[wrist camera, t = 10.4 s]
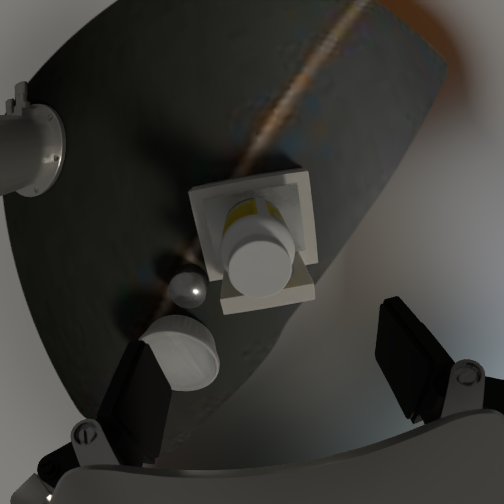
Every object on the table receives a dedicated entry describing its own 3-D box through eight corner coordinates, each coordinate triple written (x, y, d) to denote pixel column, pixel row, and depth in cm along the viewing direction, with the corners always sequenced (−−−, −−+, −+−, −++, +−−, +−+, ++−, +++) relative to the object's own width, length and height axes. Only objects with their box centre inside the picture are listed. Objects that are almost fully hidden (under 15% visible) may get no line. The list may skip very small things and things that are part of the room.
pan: (205, 196, 27) (202, 200, 25) (293, 181, 26) (297, 183, 25) (218, 258, 29) (217, 265, 28) (301, 243, 29) (305, 250, 27)
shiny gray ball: (169, 267, 33) (163, 278, 30) (203, 261, 33) (200, 272, 30) (179, 297, 35) (174, 310, 32) (212, 292, 35) (209, 305, 32)
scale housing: (192, 186, 30) (169, 206, 20) (302, 167, 29) (329, 178, 20) (211, 270, 33) (201, 318, 24) (312, 253, 33) (337, 295, 24)
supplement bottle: (220, 245, 27) (208, 299, 18) (231, 190, 25) (224, 218, 16) (274, 256, 27) (289, 313, 18) (289, 203, 25) (314, 238, 16)
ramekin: (235, 330, 37) (235, 357, 32) (199, 376, 40) (196, 401, 35) (161, 292, 34) (150, 315, 30) (134, 345, 38) (124, 368, 33)
